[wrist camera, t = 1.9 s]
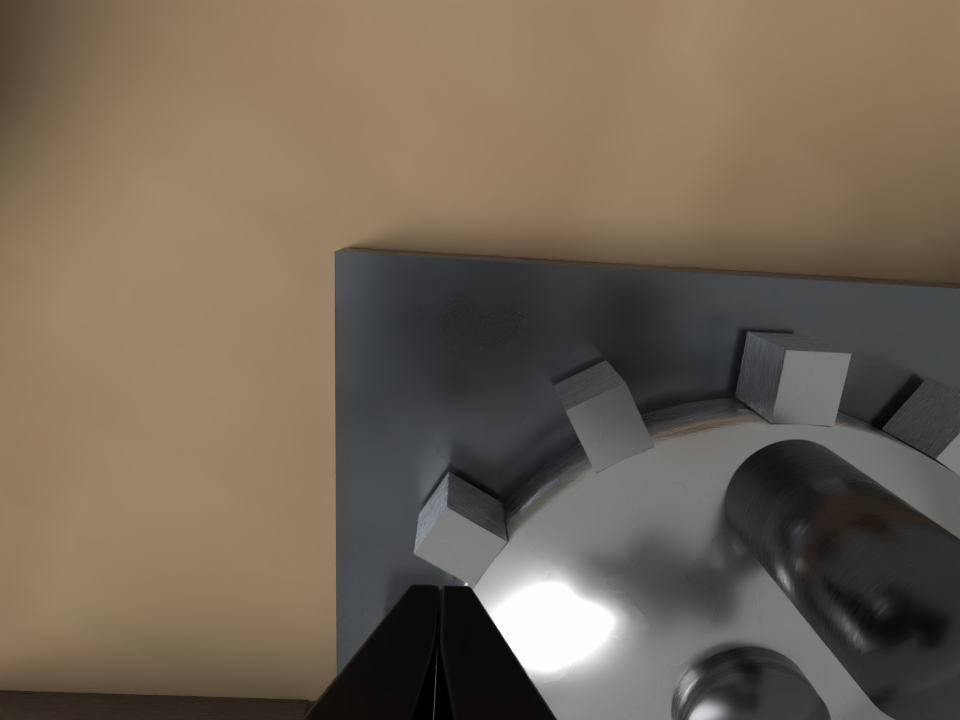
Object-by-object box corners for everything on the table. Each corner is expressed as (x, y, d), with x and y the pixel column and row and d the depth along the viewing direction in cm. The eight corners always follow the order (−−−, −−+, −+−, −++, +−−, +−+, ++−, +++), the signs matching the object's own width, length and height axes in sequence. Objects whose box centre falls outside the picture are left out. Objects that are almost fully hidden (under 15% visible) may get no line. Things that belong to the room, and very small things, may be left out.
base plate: (932, 873, 18) (959, 912, 17) (344, 865, 17) (337, 905, 16) (1147, 295, 13) (1200, 303, 12) (344, 247, 12) (334, 251, 11)
